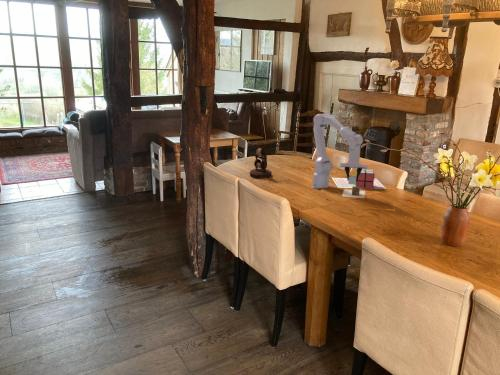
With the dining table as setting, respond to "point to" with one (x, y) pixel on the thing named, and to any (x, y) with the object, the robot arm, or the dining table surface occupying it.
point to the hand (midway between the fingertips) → (352, 180)
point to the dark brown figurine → (260, 163)
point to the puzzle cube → (365, 179)
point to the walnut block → (355, 190)
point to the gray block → (352, 180)
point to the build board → (349, 194)
